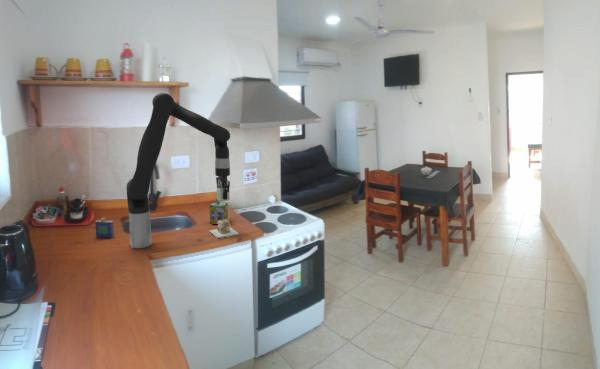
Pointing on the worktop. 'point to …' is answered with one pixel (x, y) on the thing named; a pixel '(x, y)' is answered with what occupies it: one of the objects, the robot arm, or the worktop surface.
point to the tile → (219, 235)
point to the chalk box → (218, 212)
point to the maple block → (223, 226)
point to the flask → (104, 229)
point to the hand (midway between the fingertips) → (223, 198)
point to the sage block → (221, 195)
